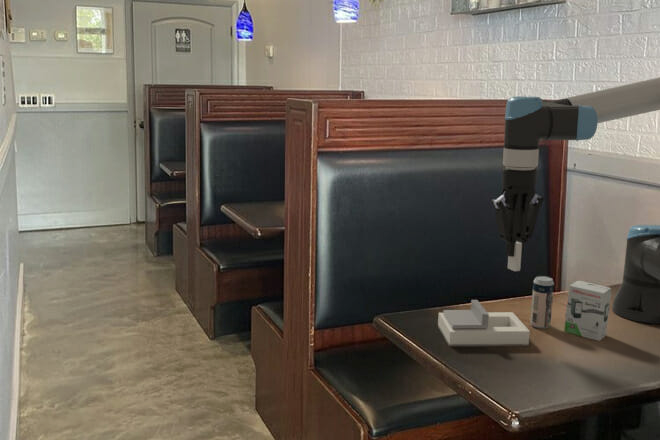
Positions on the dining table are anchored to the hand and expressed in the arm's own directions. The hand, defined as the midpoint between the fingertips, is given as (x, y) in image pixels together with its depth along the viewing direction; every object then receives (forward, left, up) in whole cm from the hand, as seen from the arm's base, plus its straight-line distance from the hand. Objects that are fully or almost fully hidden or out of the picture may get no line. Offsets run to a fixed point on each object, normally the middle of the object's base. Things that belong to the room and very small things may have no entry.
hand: (513, 269), depth 158 cm
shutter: (+11, +1, -12) cm, 16 cm away
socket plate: (+7, +1, -16) cm, 17 cm away
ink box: (-18, 0, -16) cm, 24 cm away
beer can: (-9, -5, -16) cm, 19 cm away
